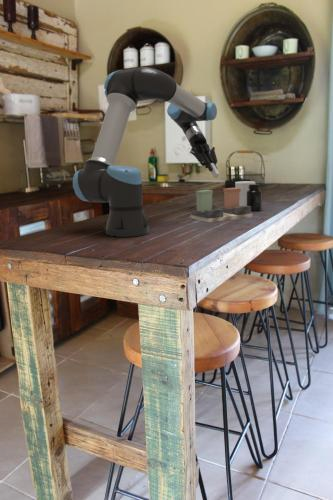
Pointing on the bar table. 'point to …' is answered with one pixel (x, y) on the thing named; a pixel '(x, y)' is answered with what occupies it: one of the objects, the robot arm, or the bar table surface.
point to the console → (222, 214)
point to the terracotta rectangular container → (231, 197)
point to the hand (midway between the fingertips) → (216, 175)
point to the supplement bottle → (254, 197)
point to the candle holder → (243, 191)
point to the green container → (204, 200)
